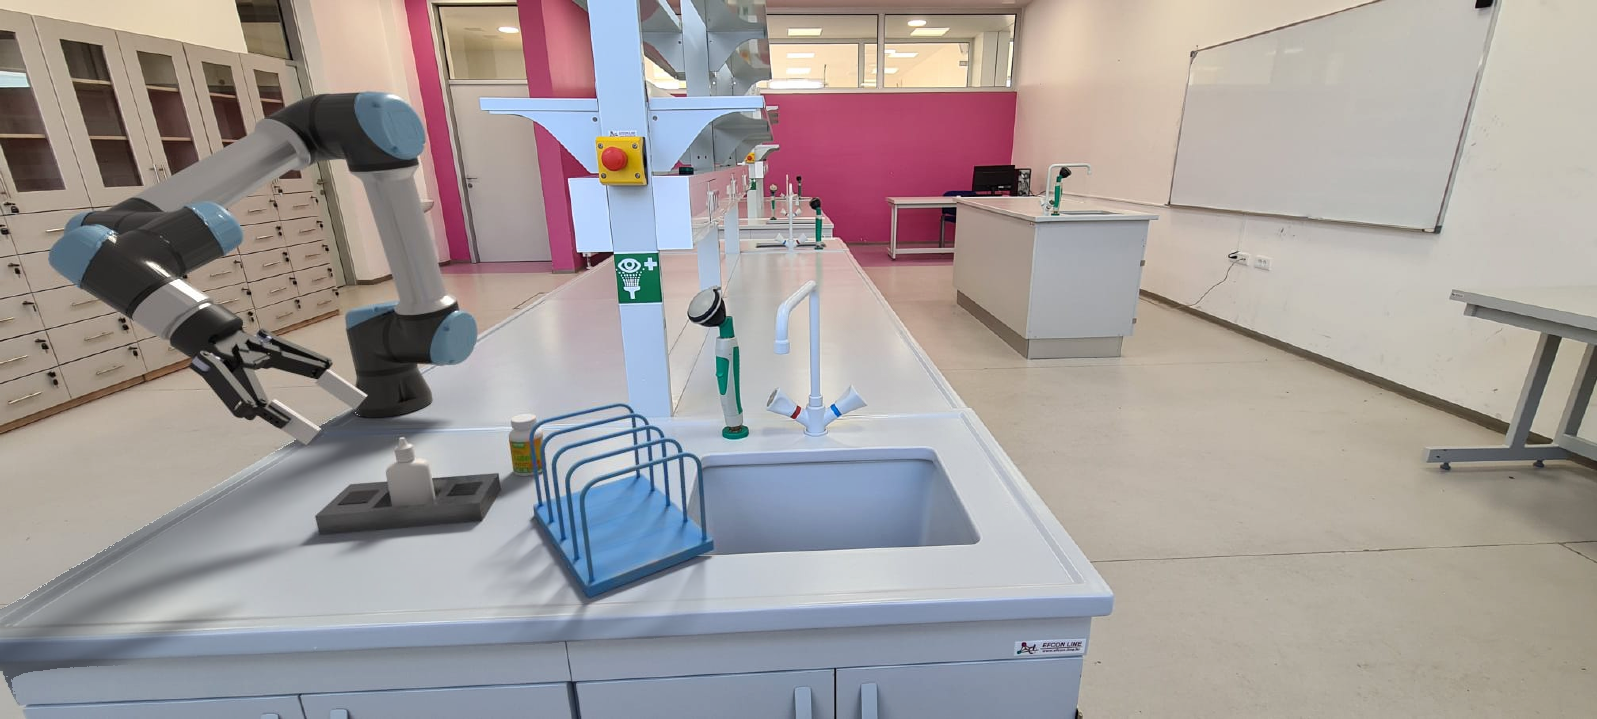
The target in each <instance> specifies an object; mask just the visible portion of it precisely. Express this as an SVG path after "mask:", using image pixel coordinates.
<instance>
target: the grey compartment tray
mask: <svg viewBox="0 0 1597 719" xmlns="http://www.w3.org/2000/svg"><path fill="white" fill-rule="evenodd" d="M432 481H433V486H434V492H435V497H436V498H435V499H434V500H433V502H432V503H431V504H419V505H406V506H394V507H392V503H391V498H390V493H389V488H388V483H387V480H386V481H375V482H373V481H372V482H361V483H360V482H359V483H350V484H348V485H347V486H346V488H344V489H343V490H342V491H341V492H340V493H338V495H336V496H335V498H333V499H332V500H331V501H329V503H328V504H326V506H324V508H321V510H320V511H319V512H318V513H317V514H315V516H314V517H315V521H316V526H317V530H318V534H319V536H321V535H331V534H332V535H333V534H344V533H353V532H354V533H355V532H369V531H380V530H391V529H401V528H412V527H413V528H414V527H426V526H436V525H437V526H438V525H439V526H440V525H447V524H451V525H452V524H461V523H474V522H482V521H484V519H485V517H486V515H487V514H488V513H489V510H490V509H491V507H492V506H493V504H494V502H495V500H497V499H496V498H497V497H498V496H499V494H500V493H501V491H502V487H501V480H500V475H499V472H498V473H497V472H496V473H483V474H482V473H481V474H480V473H479V474H470V475H469V474H468V475H458V476H457V475H455V476H443V477H442V476H441V477H432Z"/></svg>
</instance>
